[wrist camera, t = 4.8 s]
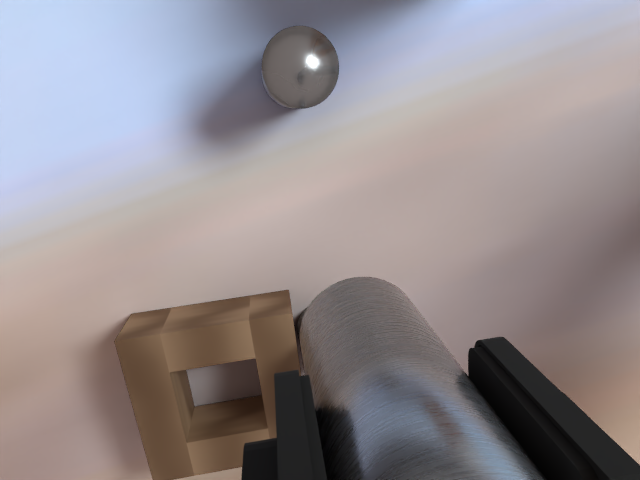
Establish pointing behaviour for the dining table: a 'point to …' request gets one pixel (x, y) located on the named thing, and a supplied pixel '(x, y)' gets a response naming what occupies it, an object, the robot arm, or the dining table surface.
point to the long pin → (397, 394)
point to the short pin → (299, 67)
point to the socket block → (199, 351)
